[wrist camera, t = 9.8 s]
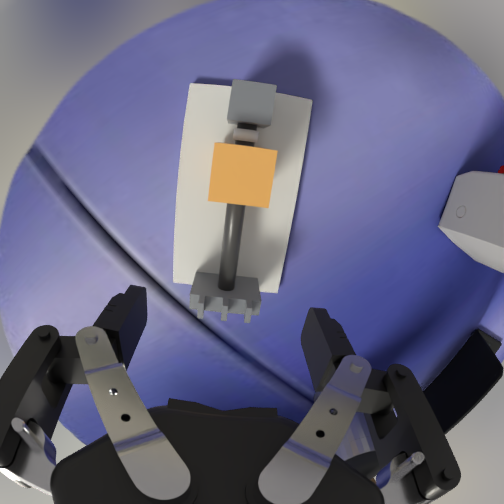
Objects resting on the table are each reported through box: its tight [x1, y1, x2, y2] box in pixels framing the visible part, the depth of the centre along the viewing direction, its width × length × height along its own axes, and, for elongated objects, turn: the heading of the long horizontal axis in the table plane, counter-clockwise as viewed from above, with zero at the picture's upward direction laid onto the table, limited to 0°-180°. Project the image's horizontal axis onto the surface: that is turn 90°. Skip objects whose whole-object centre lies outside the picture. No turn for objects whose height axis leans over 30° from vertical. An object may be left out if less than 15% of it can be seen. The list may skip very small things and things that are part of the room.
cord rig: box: [173, 79, 313, 323], centre depth 28 cm, size 25×14×8 cm, turn 172°
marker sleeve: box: [208, 142, 278, 208], centre depth 26 cm, size 5×5×8 cm
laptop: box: [397, 329, 503, 435], centre depth 44 cm, size 33×38×19 cm
